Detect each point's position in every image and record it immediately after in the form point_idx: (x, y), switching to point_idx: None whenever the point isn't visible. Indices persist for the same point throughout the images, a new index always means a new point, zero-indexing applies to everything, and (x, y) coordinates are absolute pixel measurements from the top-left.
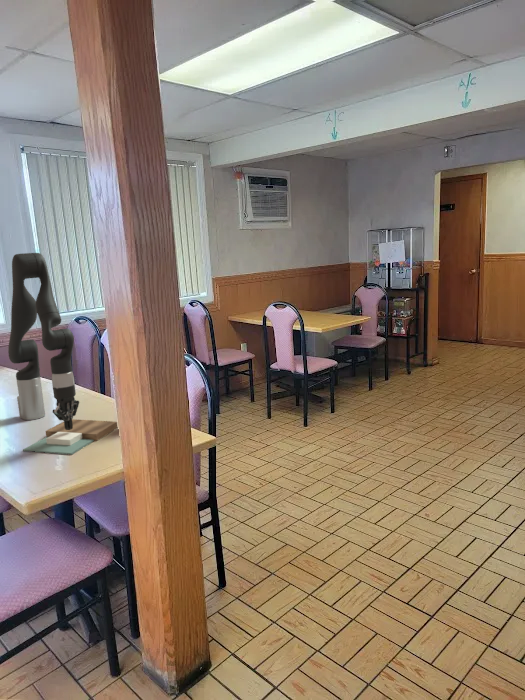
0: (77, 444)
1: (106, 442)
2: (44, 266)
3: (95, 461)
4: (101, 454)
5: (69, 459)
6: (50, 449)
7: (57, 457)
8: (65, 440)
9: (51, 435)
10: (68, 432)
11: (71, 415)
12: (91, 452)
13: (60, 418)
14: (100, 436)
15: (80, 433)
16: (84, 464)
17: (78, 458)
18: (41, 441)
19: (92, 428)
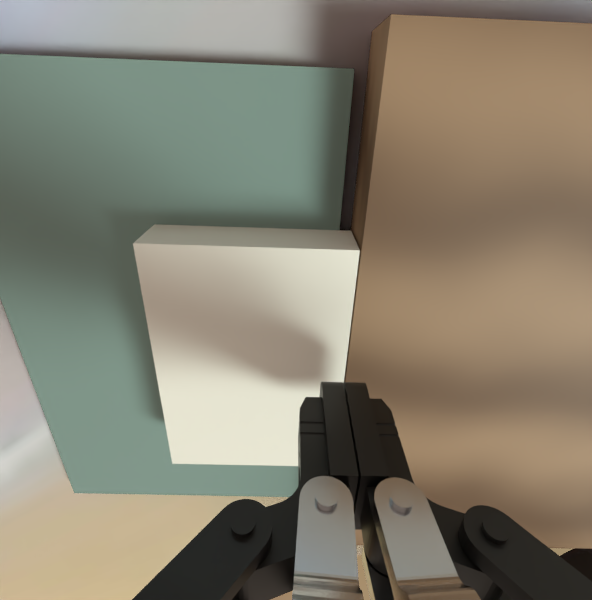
0: None
1: None
2: None
3: (69, 590)
4: (148, 580)
5: (24, 500)
6: (59, 342)
7: (8, 434)
8: (167, 428)
9: (366, 124)
10: (342, 363)
11: (388, 598)
12: (153, 541)
13: (219, 552)
14: None
15: None
16: (18, 572)
17: (59, 527)
18: (189, 113)
19: (452, 479)
